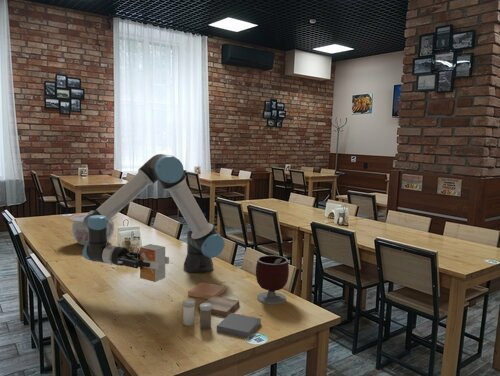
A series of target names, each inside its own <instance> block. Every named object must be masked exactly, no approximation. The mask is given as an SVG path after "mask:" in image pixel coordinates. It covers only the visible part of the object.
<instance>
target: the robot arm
mask: <svg viewBox="0 0 500 376" xmlns="http://www.w3.org/2000/svg"><path fill="white" fill-rule="evenodd" d="M186 178H187V175H186V174H185V171H184V166H183V162H181V160H180V159H178V157H176V156H174V155H171V154H163V153H158V154H155V155H154V156H152V157H151V158H149V159H148V160H147V161H145V162H144V164H143V165H141V167H140V168H138V171H137V173H136V174H135V175H133V176H132V177H131V178H130V179H129V180H128V181H127V182H126V183H125V184H124V185H122V186H121V187H120V188H119V189H118V190H117V191H116V192H114V193H113V194H112V195H111V196H110V197H109V198H107V200H105V201H104V202H103V203H102V204H101V205H100V206H99V207H98V208H96V209H95V210H93V211H94V212H93V213H92V214H88V215H87V216H85V218H84V220H83V225H84V227H85V229H86V230H87V232H88V243H87V244H86V245H85V246H84V245H83V249H82V256H83V258H84V259H85V260H87V261H91V262H95V263H97V262H98V263H102V264H103V263H104V264H109V265H110V266H112V265H116V266H120V267H122V266H123V267H124V266H125V267H128V268H133V269H139V270H140V269H143V267H146V268H152V269H158V262H154V261H148V260H143V262H142V260H140V250H137V252H134V251H130V250H129V249H128V248H127V247H123V246H117V245H109V244H108V242H107V222H108V221H109V220H110V219H111V218H113V217H114V216H117V214H118V213H119V212H121V211H122V209H124V208H125V207H126V206H127V205H129V203H130V202H131V201H133V200H134V199H135V198H136V197H137V196H138V195H140V194H141V193H142V192H143V191H144V190H145V189H146V188H147V187H149V186H150V185H151V186H152V185H154V184H155V183H156V182H157V181H158V182H159V184H160V186H161V188H162V189H163V190H164V191H168V192H169V194H170V196H171V198H172V199H173V201H174V203H175V204H176V206H177V208H178V210H179V211H180V214H181V215H182V216H183V218H184V220H185V222H186V224H187V225H188V226H187V232H186V233H187V234H186V237H187V238H186V240H187V241H186V247H187V249H186V250H187V251H186V257H185V260H184V262H183V270H184V271H186V272H188V273H193V274H196V273H197V274H202V273H208V272H211V271H213V270H214V263H213V259H214V258H217V257H218V256H220V255H221V254H222V253H223V251H224V249H225V239H224V238H223V237H222V235H220V234H219V233H218V232H217V230H216V227H215V226H214V225H213V224H212V223H209V222H208V220H207V219H206V217H205V215H204V213H203V211H202V209H201V207H200V206H199V204H198V203H197V200H196V198H195V196H193V193H192V191H191V190H190V187H189V186H188V184H187V183H186V182H187V181H186ZM166 264H167V265H169V264H170V257H169V256H165V265H166Z"/></svg>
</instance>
